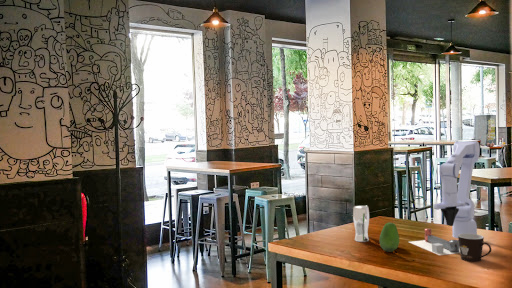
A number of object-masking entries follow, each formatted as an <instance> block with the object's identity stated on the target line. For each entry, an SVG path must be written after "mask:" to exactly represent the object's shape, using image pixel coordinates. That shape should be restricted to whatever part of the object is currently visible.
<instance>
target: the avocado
mask: <svg viewBox="0 0 512 288" xmlns="http://www.w3.org/2000/svg"><path fill="white" fill-rule="evenodd" d="M398 231H399V230H398V229H397V225H396V224H395V223H393V222H386V223H385V224H384V225H383V227H382V229H381V232H380V234H379V241H378V242H379V246H380V247H381V250H383V251H385V252H387V253H393V252H396V251H395V250H397V249H398V247H399V245H400V235H399V232H398Z"/></svg>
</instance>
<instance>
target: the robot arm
mask: <svg viewBox="0 0 512 288" xmlns="http://www.w3.org/2000/svg"><path fill="white" fill-rule="evenodd" d="M480 149H481V148H480V142H478V141H477V140H474V141H470V140H469V141H468V140H467V141H466V140H465V141H464V140H463V141H458V140H456V141H455V142H454V143H453V153H451V154H450V155H449V157H448V158H447V160H446V161H445V162H443V163H442V164H440V166H439V175H440V181H441V196H442V197H441V199H442V200H441V202H439V203H434V204H433V209H434V210H440V211H441V212H442V215H443V216H444V219H445V222H446V225H447V226H449V227H452V237H453V238H454V239H458V235H459V234H478V230H477V229H478V227H477V225H478V224H477V222H476V221H475V203H474V201H473V200H472V199H470V193H471V192H470V191H471V183H472V176H473V168H474V166H475V163H476V162H479V158H480ZM460 167H461V168H460ZM458 177H459V179H458Z"/></svg>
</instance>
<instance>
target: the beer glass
mask: <svg viewBox="0 0 512 288" xmlns="http://www.w3.org/2000/svg"><path fill="white" fill-rule="evenodd" d="M352 211H353V212H352V215H353V217H352V218H353V219H352V220H353V224H354V229H355V235H354V236H355V237H354V241H356V242H359V243H366V242H369V235H368V233H369V232H368V231H369V224H370V210H369V206H368V205H354V206H353V210H352Z"/></svg>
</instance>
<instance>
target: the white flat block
mask: <svg viewBox="0 0 512 288" xmlns="http://www.w3.org/2000/svg"><path fill="white" fill-rule="evenodd" d="M408 243H410V244H412V245H414V246H417V247H419V248H421V249H423V250H425V251H428V252H430V253H433V254H436V255H438V256H445V255H446V256H447V255H455V254H460V252H450V249H447V248H445V247H443V245H442V244H440V243H435V244H434V243H432V242H427V241H425V239H422V240H414V241H411V240H410V241H408Z"/></svg>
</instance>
